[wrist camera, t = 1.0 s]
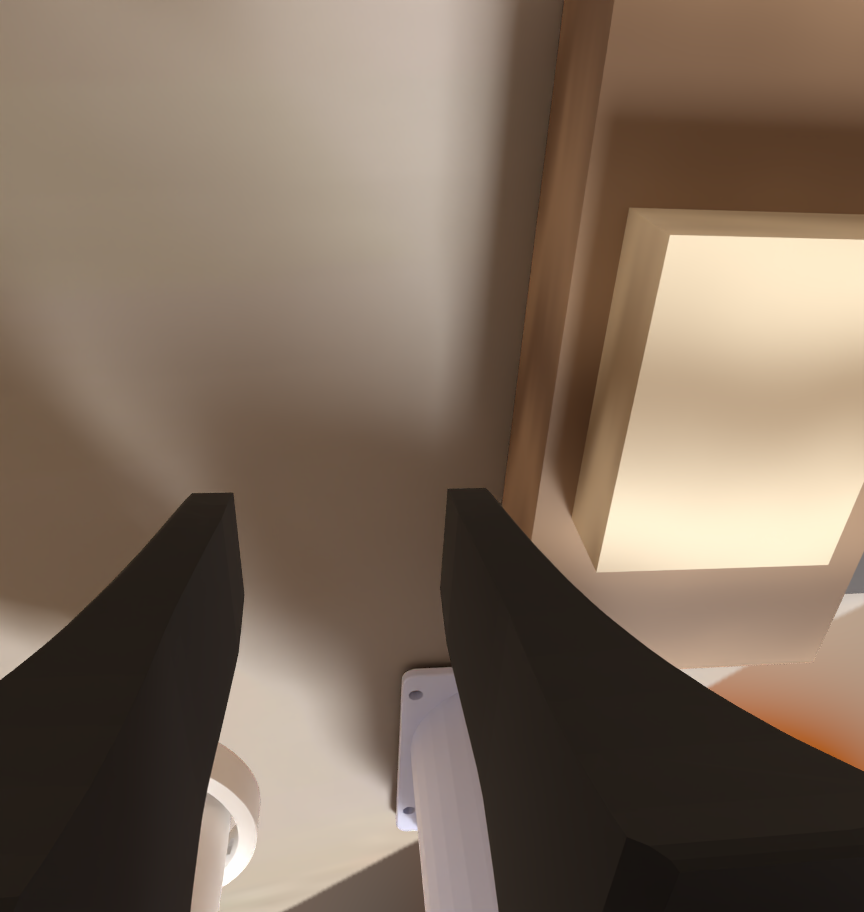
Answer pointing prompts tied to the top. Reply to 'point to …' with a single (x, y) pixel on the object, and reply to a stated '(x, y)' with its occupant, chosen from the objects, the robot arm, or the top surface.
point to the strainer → (225, 829)
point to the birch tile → (727, 393)
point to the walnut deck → (598, 253)
